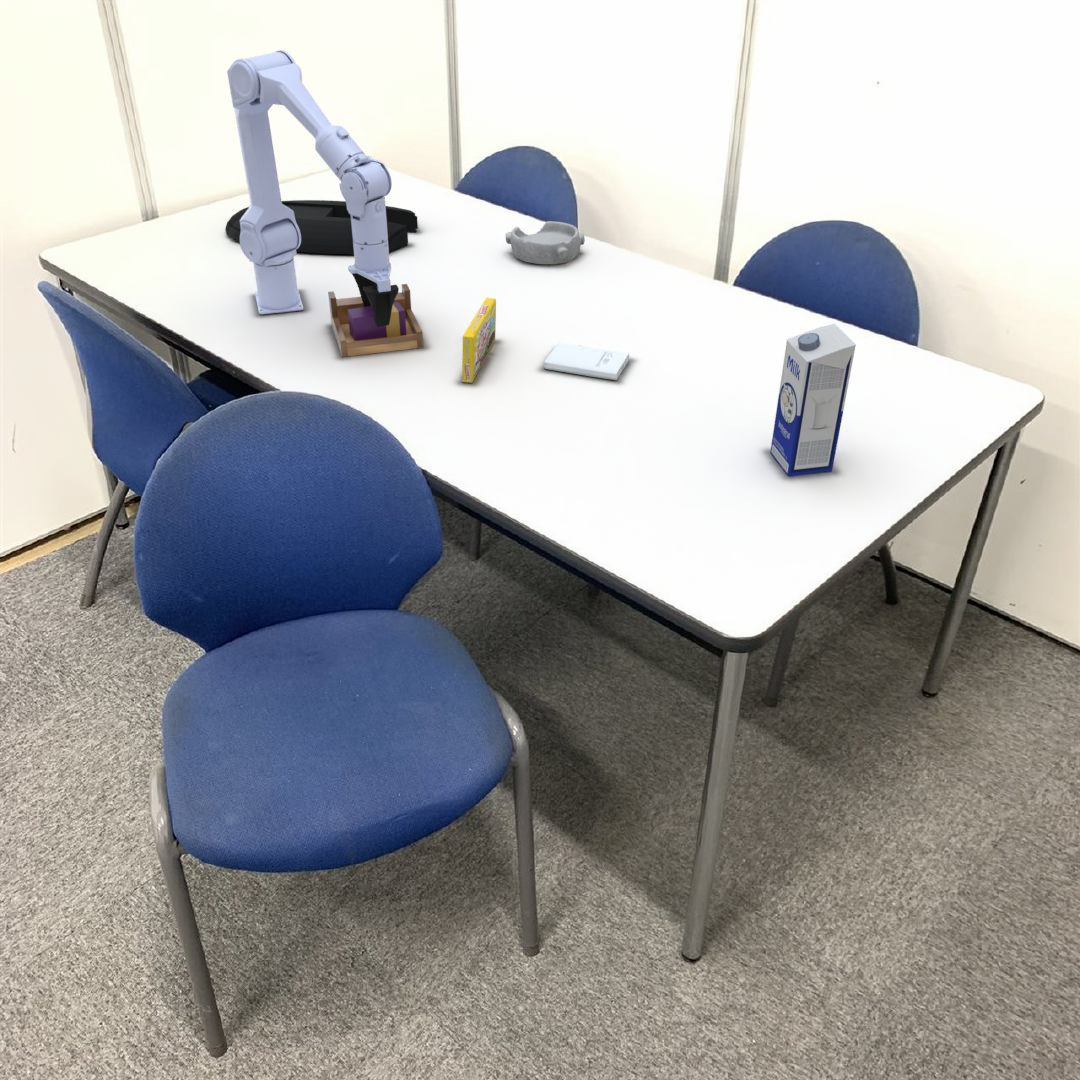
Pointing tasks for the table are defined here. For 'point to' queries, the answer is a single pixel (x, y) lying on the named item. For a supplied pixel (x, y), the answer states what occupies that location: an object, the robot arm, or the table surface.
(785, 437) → the milk carton
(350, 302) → the tray
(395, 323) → the chocolate bar
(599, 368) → the hard drive
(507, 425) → the table surface
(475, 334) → the candy box
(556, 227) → the dish
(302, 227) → the docking station
